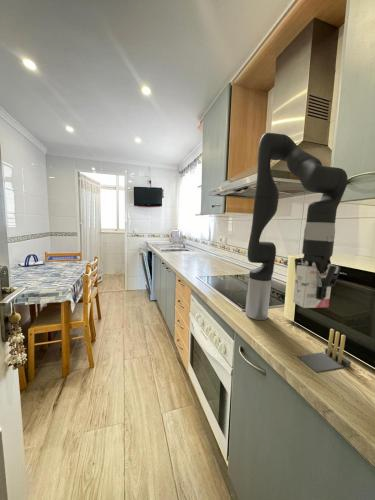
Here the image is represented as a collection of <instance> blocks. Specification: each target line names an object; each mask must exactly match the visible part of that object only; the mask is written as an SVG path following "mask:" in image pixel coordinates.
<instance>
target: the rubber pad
mask: <svg viewBox="0 0 375 500" xmlns="http://www.w3.org/2000/svg"><path fill="white" fill-rule="evenodd" d="M297 358H299V360H301V361H302V362H303V363H304V364H305V365H306V366H308V367H309V368H310V369H311V370H313V371H314V372H316V373H322V372H326V371H327V372H328V371H332V370H333V371H334V370H338V369H344V366H343V365H342V364H341V365H340V364H339V363H337V361H334V360H333V359H332V357H329V356H327V354H326V353H325V352H322V351H321V352H316V353H310V354H309V353H308V354H303V355H302V354H301V355H297Z"/></svg>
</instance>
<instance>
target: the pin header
mask: <svg viewBox="0 0 375 500" xmlns="http://www.w3.org/2000/svg"><path fill="white" fill-rule="evenodd" d="M334 334H335V335H334ZM333 341H334V343H333ZM339 341H340V344H339ZM345 343H346V335H345V334H341V335H340V332H339V331H335V329H333V328H330V329H329V337H328V343H327V347H326V348H325V349H324V354H326V355H327V356H329V357H330V358H332V359H333V360H334V361H336V362H337V363H339V364H340V365H342V366H343V367H345V368H350V367H351V364H352V362H351V361H350V360H349V359H347V358H346V357H345V356H344V349H345V345H346V344H345ZM332 348H333V349H332Z"/></svg>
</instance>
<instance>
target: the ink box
mask: <svg viewBox="0 0 375 500" xmlns="http://www.w3.org/2000/svg"><path fill="white" fill-rule="evenodd" d="M316 270H317V269H316V268H315V267H312V266H305V265H297V269H296V272H295V278H294V279H295V280H294V290H293V299H292V302H293V304H295V305H297V306H299V307H301V308H303V309H310V308H311V309H315V308H316V309H317V308H329V306H330V298H331V293H332V292H331V290H332V286H329V287H327V290H326V297H325V298H324V299H323V300H318V299H316V294H317V286H318V282H317V278H316ZM327 272H328V271H327ZM320 275H325V272H324V273H321V274H320ZM322 281H323V278H322Z"/></svg>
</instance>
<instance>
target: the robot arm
mask: <svg viewBox="0 0 375 500" xmlns="http://www.w3.org/2000/svg"><path fill="white" fill-rule="evenodd" d="M257 148H258V149H257V170H256V171H257V174H256V186H255V193H254V201H253V211H252V212H253V214H252V222H251V223H252V224H251V229H250V230H251V231H250V235H249V241H248V244H247V245H248V246H247V260H248V262H249V263H254V264H261V265H260V266H259V267H257V268H254V269H251V270H250V271H249V274H248V286H247V287H248V288H247V292H246V299H245V310H244V312H245V315H246V317H248V318H250V319H253V320H257V321H265V320H267V319H268V318H269V317H268V315H269V308H270V307H269V306H270V296H271V285H272V279H273V274H274V267H275V262H276V258H277V257H276V255H277V248H276V247H277V246H276V244H275V243H274V242H271V241H260V240H261V235H262V233H263V231H264V229H265V227H266V226H267V225H268V224H269V223H270V222H271V220H272V219H273V218H274V217H275V214H276V213H277V210H278V206H279V199H280V198H279V197H280V193H279V189H278V186H277V184H276V182H275V179H274V178H273V175H272V170H271V161H282V162H285V163H286V166H287V169H288V170H289V172H290V173H291V174H293V176H295V177H297V178H298V180H299V182H300V183H301V186H302V187H303V188H304V189H305V190H307V191H308V192H311V193H315V194H316V193H317V194H322V196H321V198H320V200H318V201H313V202H311V203H310V204H308V208H307V213H306V220H305V221H306V224H305V226H304V231H303V241H302V249H301V253H302V254H303V257H302V258H294V269H295V270H294V271H295V273H296V269H297V265H305V266H312V267H315V268H316V269H317V270H316V278H317V282H318V286H317V294H316V299H318V300H323V299H324V298H325V297H326V290H327V287H329V286H331V287H335V286H336V283H337V280H338V278H339V275H340V273H341V270H342V267H341V266H340V265H335V264H332V262H331V257H333V252H334V245H335V239H336V238H335V237H336V218H337V209H338V207H339V205H340V203H341V201H342V198H343V196H344V194H345V191H346V188H347V186H348V174H347V172H346V171H345V169H343V168H340V167H334V166H333V167H332V166H327V165H323V164H322V163H323V162H321V160H320V159H319V158H318V157H315V156H314V155H312V154H310V153H308V152H307V151H305V150H303V149H302V148H301V147H299V145H297V143H295V141H294V140H293V139H292V138H291V137H290V136H289V135H287V134H283V133H275V132H266V133H265V132H264V133H263V134H262V136H261V137H260V140H259V144H258V147H257ZM327 271H328V272H327ZM324 272H325V275H320V274H321V273H324ZM322 278H323V281H322Z"/></svg>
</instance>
